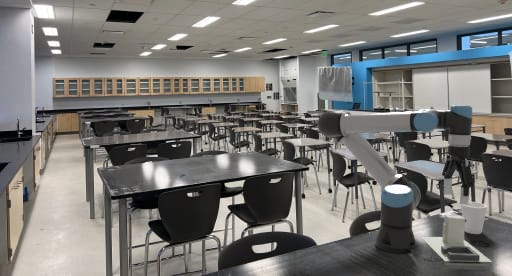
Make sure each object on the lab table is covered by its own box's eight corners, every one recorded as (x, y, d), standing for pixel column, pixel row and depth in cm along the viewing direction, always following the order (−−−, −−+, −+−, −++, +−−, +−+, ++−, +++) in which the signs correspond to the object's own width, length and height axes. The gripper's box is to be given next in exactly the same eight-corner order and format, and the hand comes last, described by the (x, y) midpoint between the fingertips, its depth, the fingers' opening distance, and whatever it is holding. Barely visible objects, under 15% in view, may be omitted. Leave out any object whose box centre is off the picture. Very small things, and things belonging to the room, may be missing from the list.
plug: (445, 243, 148) (446, 218, 147) (441, 239, 152) (442, 215, 151) (466, 243, 147) (468, 218, 146) (462, 239, 151) (463, 215, 150)
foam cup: (487, 234, 161) (489, 204, 159) (482, 240, 154) (484, 209, 153) (463, 229, 167) (464, 200, 166) (456, 234, 160) (458, 205, 159)
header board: (444, 265, 132) (445, 255, 132) (420, 240, 155) (421, 232, 154) (492, 266, 131) (492, 256, 130) (461, 240, 154) (461, 232, 153)
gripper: (487, 150, 133) (482, 208, 135) (453, 141, 158) (450, 191, 160) (465, 150, 133) (461, 208, 136) (435, 141, 158) (432, 190, 161)
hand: (455, 199), depth 148 cm, fingers open, 13 cm apart
